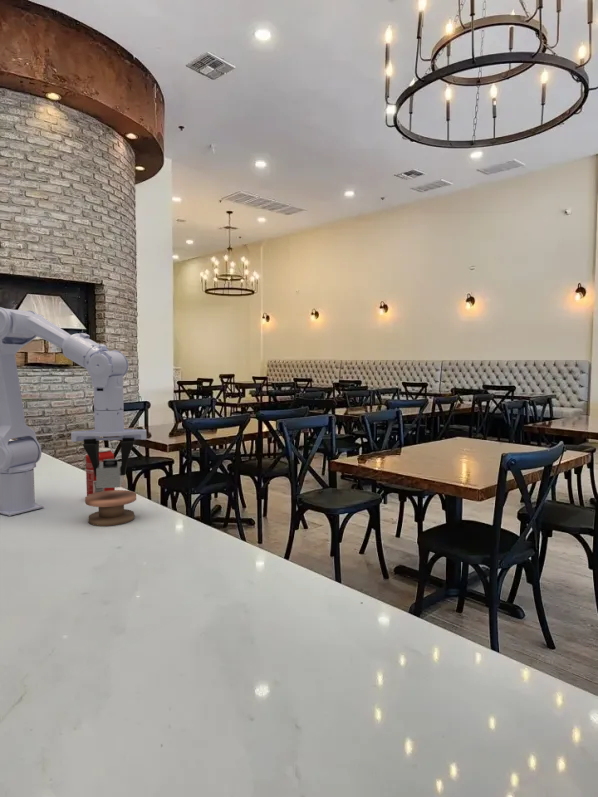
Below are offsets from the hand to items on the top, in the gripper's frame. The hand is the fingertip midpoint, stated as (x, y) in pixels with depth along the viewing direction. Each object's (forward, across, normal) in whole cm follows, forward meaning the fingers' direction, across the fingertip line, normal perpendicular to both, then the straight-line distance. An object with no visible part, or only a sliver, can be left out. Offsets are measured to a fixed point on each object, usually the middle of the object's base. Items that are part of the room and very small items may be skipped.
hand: (110, 475), depth 112 cm
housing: (+2, 0, 0) cm, 2 cm away
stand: (+9, 0, 0) cm, 9 cm away
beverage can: (+10, +5, -18) cm, 21 cm away
